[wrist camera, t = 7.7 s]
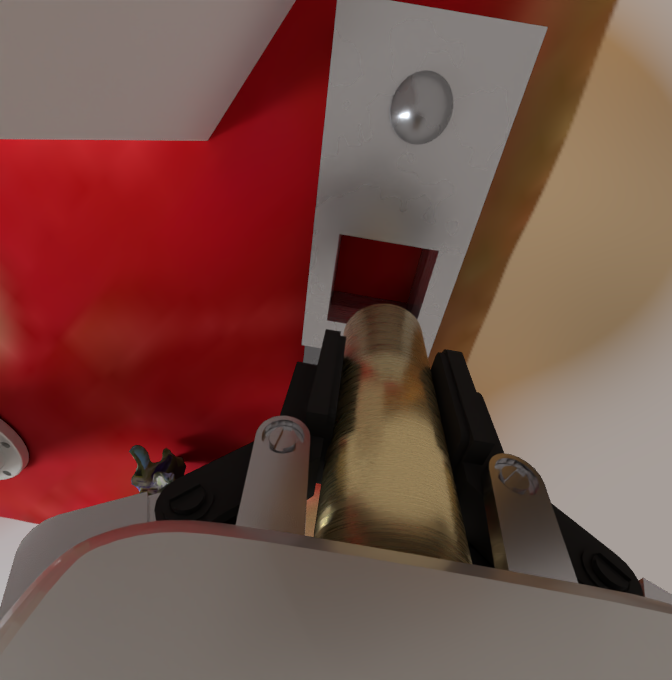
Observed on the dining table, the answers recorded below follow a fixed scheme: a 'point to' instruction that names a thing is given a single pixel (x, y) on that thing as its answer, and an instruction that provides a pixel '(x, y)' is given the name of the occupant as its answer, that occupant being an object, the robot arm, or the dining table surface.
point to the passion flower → (155, 470)
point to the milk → (127, 65)
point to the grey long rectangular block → (411, 146)
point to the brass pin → (389, 446)
